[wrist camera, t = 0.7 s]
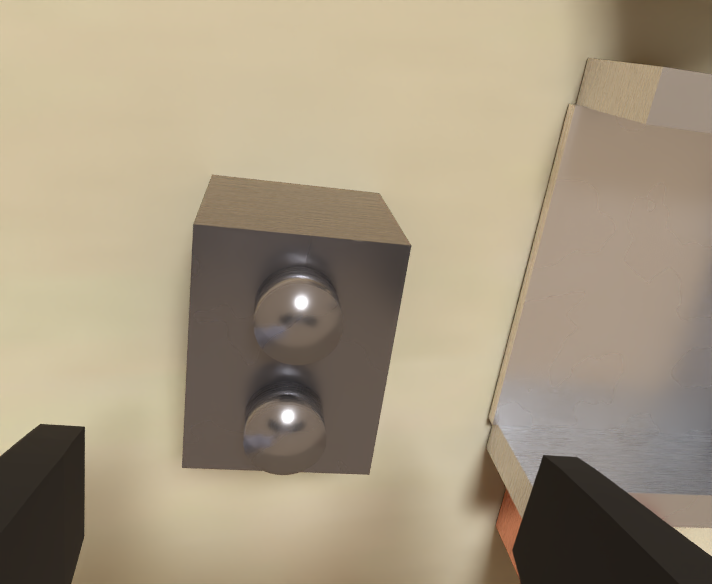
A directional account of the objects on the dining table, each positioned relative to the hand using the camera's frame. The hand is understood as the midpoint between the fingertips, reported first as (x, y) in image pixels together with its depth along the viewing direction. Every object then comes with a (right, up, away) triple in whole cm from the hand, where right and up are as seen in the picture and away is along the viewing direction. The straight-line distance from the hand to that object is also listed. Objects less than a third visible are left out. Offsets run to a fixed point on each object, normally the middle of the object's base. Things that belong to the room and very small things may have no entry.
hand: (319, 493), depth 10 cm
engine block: (-1, +3, +8) cm, 9 cm away
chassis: (+9, -3, +12) cm, 16 cm away
